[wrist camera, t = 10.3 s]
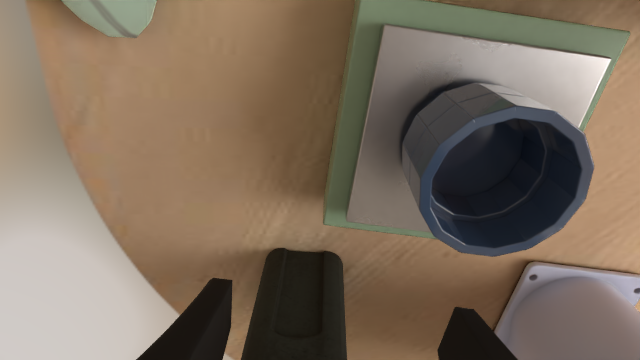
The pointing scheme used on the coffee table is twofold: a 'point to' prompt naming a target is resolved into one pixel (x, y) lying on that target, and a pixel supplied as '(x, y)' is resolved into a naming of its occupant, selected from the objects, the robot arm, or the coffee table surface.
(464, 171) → the bowl
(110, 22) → the robot head
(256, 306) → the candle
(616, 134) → the coffee table surface
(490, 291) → the coffee table surface
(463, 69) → the pan
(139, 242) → the coffee table surface
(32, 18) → the coffee table surface
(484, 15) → the scale
